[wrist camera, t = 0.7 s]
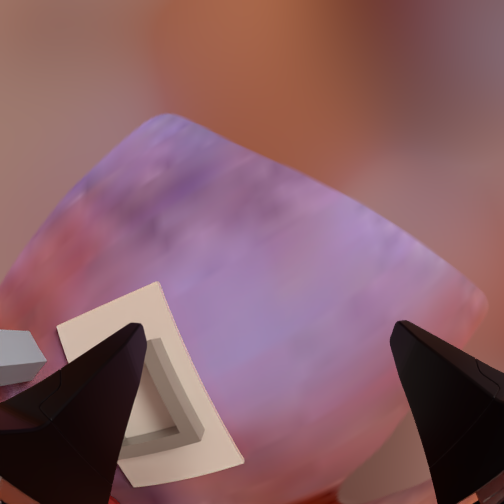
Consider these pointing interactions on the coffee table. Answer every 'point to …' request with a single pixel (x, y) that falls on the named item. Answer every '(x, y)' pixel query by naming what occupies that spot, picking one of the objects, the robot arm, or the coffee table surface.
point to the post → (19, 357)
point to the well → (158, 394)
